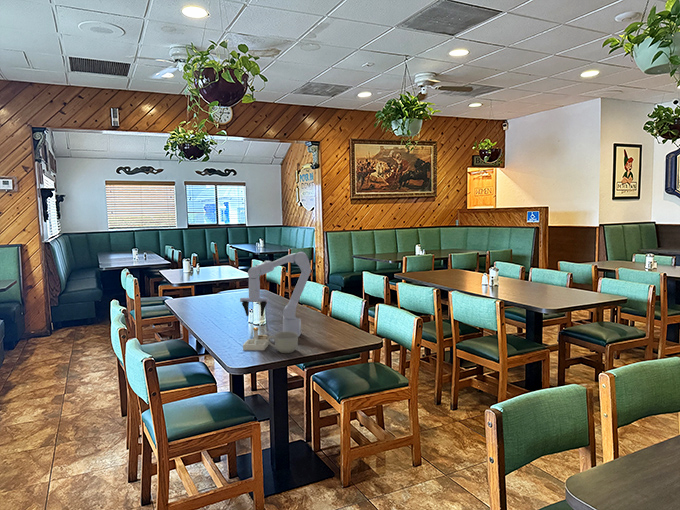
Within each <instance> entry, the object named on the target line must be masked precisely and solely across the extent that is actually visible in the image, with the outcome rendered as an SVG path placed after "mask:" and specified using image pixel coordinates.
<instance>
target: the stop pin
mask: <svg viewBox="0 0 680 510" xmlns="http://www.w3.org/2000/svg"><path fill="white" fill-rule="evenodd" d="M252 328H253V337H254V345H258V335H259V327H258V326H257V327H256V326H254V327H252Z"/></svg>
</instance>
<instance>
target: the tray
mask: <svg viewBox="0 0 680 510" xmlns="http://www.w3.org/2000/svg"><path fill="white" fill-rule="evenodd" d="M269 345H270V344H269V343H268V341H267V339H258V345H254V339H253V338H252V339H251V338H250V339H249V338H248V339H247V340H246V341H245V342H244V343H243V344H242V350H243V351H265V350H266V349H267V348H268V346H269Z"/></svg>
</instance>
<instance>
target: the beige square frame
mask: <svg viewBox="0 0 680 510" xmlns="http://www.w3.org/2000/svg"><path fill="white" fill-rule="evenodd" d="M268 335H269V334H258V339H268V337H269V336H268ZM252 339H254V336H253V337H252Z"/></svg>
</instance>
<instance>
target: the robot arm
mask: <svg viewBox="0 0 680 510" xmlns="http://www.w3.org/2000/svg"><path fill="white" fill-rule="evenodd" d="M288 263H291V264H294V263H295V264H296V265H297V266H298V267H299V269H300V272H301V273H300V275H299V278H298V280H297V283H296V285H295V287H294V289H293V292H292V294H291V296H290V298H289V301H288V302H287V304H286V305H285V306H284V308H283V311H282V314H283V317H282V332H295V333H297V334H298V338H299V337H300V336H301V334H302V319H301V318H298V317H297V316H296V312H297V306H298V305H299V304H298V303H299V301H300V299H301V296H302V294H303V292H304V289H305V287H306V284H307V282H308V281H309V280H308V279H309V277H310V275H311V273H312V268H311V264H310V259H309V257H308V255H307V253H305V252H304V251H298V252H294V253H290V254H287V255H285V256H282V257H281V258H277V259H276V260H273V261H272V260H264V261H263V262H262V263H259V264H255V266H254V265H253V266H251V267H250V268H249V269H248V271H247V276H248V297H241V298H240V300H239V302H240V303H241V306H242V308H243V309H244V312H245V316H246V317H248V316H249V314H250V312H249V304H250V303H259V305H260V317H263V316H264V312H265V309H266V306H267V303H269V300H270V299H269V297H261V284H260V283H261V281H260V276H263V275H265V274H268V273H271V272H274V270H275V268H277V267H279V266H282V265H286V264H288Z"/></svg>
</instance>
